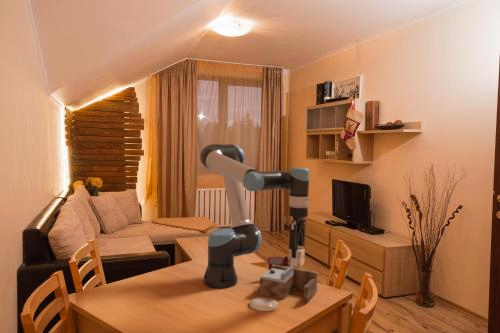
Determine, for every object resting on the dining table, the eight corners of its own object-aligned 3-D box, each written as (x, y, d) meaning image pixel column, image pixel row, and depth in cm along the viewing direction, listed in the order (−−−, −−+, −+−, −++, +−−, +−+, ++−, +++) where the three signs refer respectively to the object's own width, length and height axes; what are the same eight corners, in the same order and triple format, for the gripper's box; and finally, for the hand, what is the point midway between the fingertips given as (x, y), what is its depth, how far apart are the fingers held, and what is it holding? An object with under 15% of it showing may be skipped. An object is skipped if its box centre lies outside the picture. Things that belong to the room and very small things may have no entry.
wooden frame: (259, 293, 153) (260, 273, 152) (272, 283, 165) (273, 264, 165) (307, 303, 144) (307, 282, 143) (317, 291, 156) (317, 272, 156)
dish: (244, 307, 139) (244, 305, 139) (256, 297, 149) (256, 295, 149) (271, 313, 134) (271, 311, 134) (282, 302, 144) (282, 300, 144)
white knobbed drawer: (261, 278, 152) (261, 270, 152) (272, 270, 163) (272, 262, 163) (283, 282, 148) (284, 274, 148) (294, 273, 159) (294, 265, 159)
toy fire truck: (295, 280, 169) (296, 258, 169) (269, 281, 167) (269, 259, 167) (291, 275, 176) (292, 254, 175) (266, 276, 174) (266, 254, 174)
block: (288, 265, 147) (288, 250, 147) (292, 261, 151) (293, 247, 151) (300, 267, 145) (300, 252, 144) (304, 263, 149) (304, 249, 149)
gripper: (300, 210, 137) (298, 271, 138) (314, 204, 153) (311, 259, 154) (281, 208, 140) (279, 268, 142) (296, 202, 156) (294, 256, 158)
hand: (296, 263), depth 148 cm, fingers closed on block, 5 cm apart
